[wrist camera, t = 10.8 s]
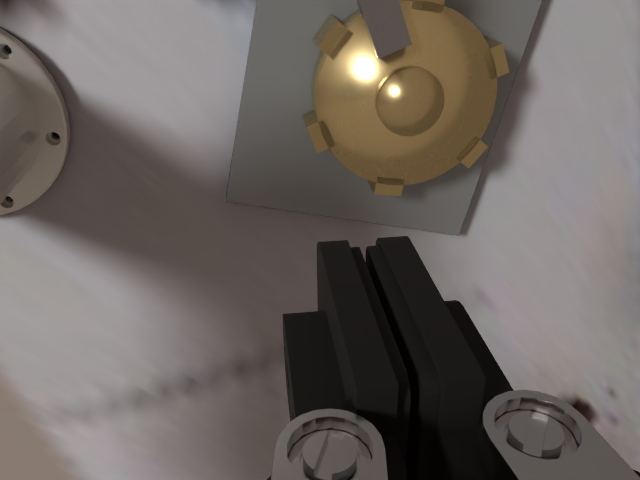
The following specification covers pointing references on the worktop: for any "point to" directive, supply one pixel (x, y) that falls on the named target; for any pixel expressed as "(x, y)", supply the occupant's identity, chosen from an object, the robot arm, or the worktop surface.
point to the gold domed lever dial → (403, 91)
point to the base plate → (324, 168)
